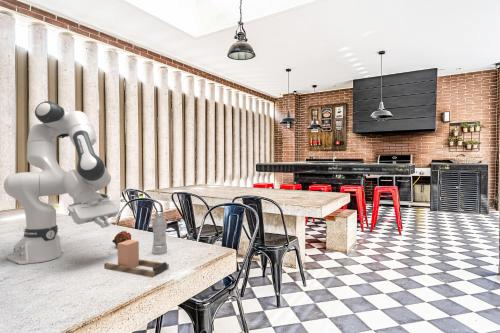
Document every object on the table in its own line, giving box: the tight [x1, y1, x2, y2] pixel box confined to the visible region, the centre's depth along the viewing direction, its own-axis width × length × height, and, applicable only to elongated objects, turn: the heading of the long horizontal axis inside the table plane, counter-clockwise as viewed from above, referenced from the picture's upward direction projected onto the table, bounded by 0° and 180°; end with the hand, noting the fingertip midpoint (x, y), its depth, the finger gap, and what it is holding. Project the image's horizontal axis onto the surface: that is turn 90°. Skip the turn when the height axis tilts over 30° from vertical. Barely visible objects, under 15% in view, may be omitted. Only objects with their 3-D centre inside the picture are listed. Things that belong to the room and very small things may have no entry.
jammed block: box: [117, 239, 140, 268], centre depth 118 cm, size 5×6×10 cm
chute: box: [103, 258, 170, 278], centre depth 116 cm, size 24×9×4 cm, turn 67°
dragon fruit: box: [111, 230, 132, 247], centre depth 151 cm, size 8×8×12 cm
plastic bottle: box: [151, 210, 168, 255], centre depth 137 cm, size 6×7×20 cm
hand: (106, 226), depth 122 cm, fingers closed
